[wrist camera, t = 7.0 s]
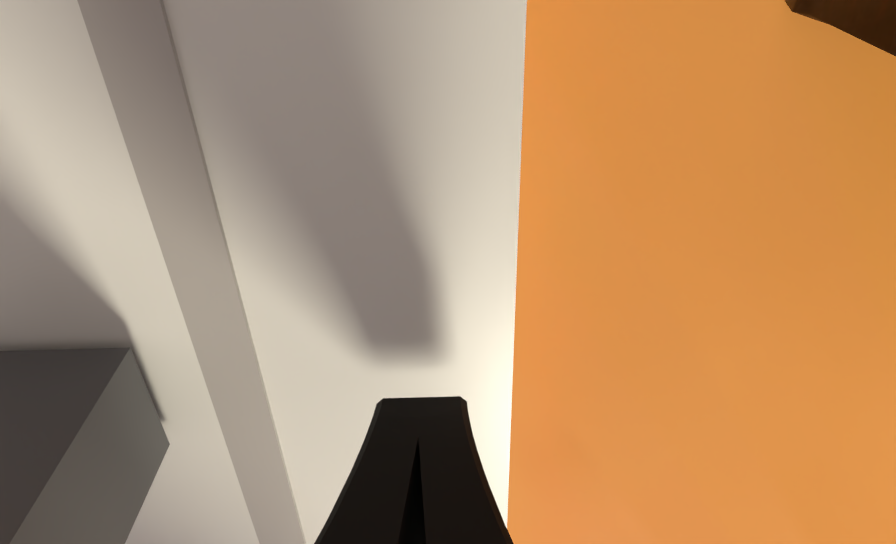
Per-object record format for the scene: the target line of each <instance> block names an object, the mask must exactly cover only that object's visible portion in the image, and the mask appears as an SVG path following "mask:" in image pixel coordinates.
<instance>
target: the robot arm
mask: <svg viewBox="0 0 896 544" xmlns="http://www.w3.org/2000/svg"><path fill="white" fill-rule="evenodd" d="M314 544H513V542H512V539H511V537H510V535H509V533H508V530H507V528H506V526H505V523H504V521H503V518H502V516H501V513H500V511H499V508H498V506H497V503H496V501H495V498H494V496H493V494H492V491H491V489H490V486H489V483H488V480H487V478H486V475H485V472H484V469H483V466H482V463H481V460H480V457H479V454H478V451H477V447H476V444H475V440H474V437H473V433H472V429H471V424H470V419H469V414H468V406H467V401H466V400H464V399H463V398H462V397H460V396H453V397H413V398H383V399H382V400H380V401H379V402H378V403H377V404H376V407H375V411H374V414H373V417H372V420H371V423H370V426H369V429H368V431H367V434H366V437H365V439H364V442H363V444H362V447H361V449H360V451H359V454H358V456H357V458H356V461H355V463H354V465H353V467H352V470H351V472H350V474H349V476H348V478H347V480H346V482H345V484H344V487H343V489H342V491H341V493H340V495H339V497H338V499H337V501H336V503H335V505H334V507H333V509H332V511H331V513H330V515H329V517H328V519H327V521H326V523H325V525H324V527H323V529H322V530H321V532H320V534H319V536H318V537H317V539H316V541H315V543H314Z"/></svg>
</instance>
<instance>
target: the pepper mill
mask: <svg viewBox="0 0 896 544" xmlns="http://www.w3.org/2000/svg"><path fill="white" fill-rule="evenodd" d="M785 2H786V3H787V5H788V6H789V8H790V9H791V11H792V12H795V13H798V14H801V15H804V16H807V17H809V18H812V19H815V20H818V21H821V22H824V23H827V24H830V25H832V26H834V27H836V28H838V29H840V30H842V31H844V32H847V33H849V34H851V35H853V36H855V37H857V38H859V39H861V40H863V41H865V42H867V43H869V44H871V45H873V46H876V47H878V48H880V49H882V50H884V51H886V52H888V53H890V54H892V55H894V56H896V0H785Z"/></svg>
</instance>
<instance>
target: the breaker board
mask: <svg viewBox="0 0 896 544" xmlns="http://www.w3.org/2000/svg"><path fill="white" fill-rule="evenodd" d="M526 6H527V0H0V351H20V350H57V349H95V348H131V350H132V353H133V355H134V358H135V360H136V363H137V365H138V367H139V370H140V372H141V375H142V377H143V380H144V382H145V385H146V387H147V389H148V392H149V394H150V397H151V399H152V402H153V404H154V407H155V409H156V411H157V414H158V416H159V419H160V421H161V424H162V426H163V429H164V431H165V433H166V436H167V438H168V441H169V443H170V445H169V447H168V450H167V452H166V454H165V456H164V458H163V461H162V463H161V465H160V467H159V469H158V472H157V474H156V476H155V478H154V481H153V483H152V485H151V487H150V489H149V492H148V494H147V496H146V498H145V500H144V503H143V505H142V507H141V509H140V511H139V514H138V516H137V518H136V520H135V523H134V525H133V527H132V529H131V531H130V534H129V536H128V538H127V540H126V542H125V544H314V543H315V541H316V539H317V537H318V536H319V534H320V532H321V530H322V529H323V527H324V525H325V523H326V521H327V519H328V517H329V515H330V513H331V511H332V509H333V507H334V505H335V503H336V501H337V499H338V497H339V495H340V493H341V491H342V489H343V487H344V484H345V482H346V480H347V478H348V476H349V474H350V472H351V470H352V467H353V465H354V463H355V461H356V458H357V456H358V454H359V451H360V449H361V447H362V444H363V442H364V439H365V437H366V434H367V431H368V429H369V426H370V423H371V420H372V417H373V414H374V411H375V407H376V404H377V403H378V402H379V401H380V400H382V399H383V398H413V397H453V396H460V397H462V398H463V399H464V400H466V401H467V406H468V414H469V419H470V424H471V429H472V433H473V437H474V440H475V444H476V447H477V451H478V454H479V457H480V460H481V463H482V466H483V469H484V472H485V475H486V478H487V480H488V483H489V486H490V489H491V491H492V494H493V496H494V498H495V501H496V503H497V506H498V508H499V511H500V513H501V516H502V518H503V521H504V523H505V526H506V528H507V511H508V484H509V458H510V431H511V405H512V378H513V351H514V325H515V298H516V272H517V245H518V218H519V192H520V165H521V139H522V112H523V85H524V59H525V32H526Z"/></svg>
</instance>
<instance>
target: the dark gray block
mask: <svg viewBox="0 0 896 544" xmlns="http://www.w3.org/2000/svg"><path fill="white" fill-rule="evenodd" d="M169 445H170V443H169V441H168V438H167V436H166V433H165V431H164V429H163V426H162V424H161V421H160V419H159V416H158V414H157V411H156V409H155V407H154V404H153V402H152V399H151V397H150V394H149V392H148V389H147V387H146V385H145V382H144V380H143V377H142V375H141V372H140V370H139V367H138V365H137V363H136V360H135V358H134V355H133V353H132V350H131V348H95V349H57V350H20V351H0V544H125V542H126V540H127V538H128V536H129V534H130V531H131V529H132V527H133V525H134V523H135V520H136V518H137V516H138V514H139V511H140V509H141V507H142V505H143V503H144V500H145V498H146V496H147V494H148V492H149V489H150V487H151V485H152V483H153V481H154V478H155V476H156V474H157V472H158V469H159V467H160V465H161V463H162V461H163V458H164V456H165V454H166V452H167V450H168V447H169Z"/></svg>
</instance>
